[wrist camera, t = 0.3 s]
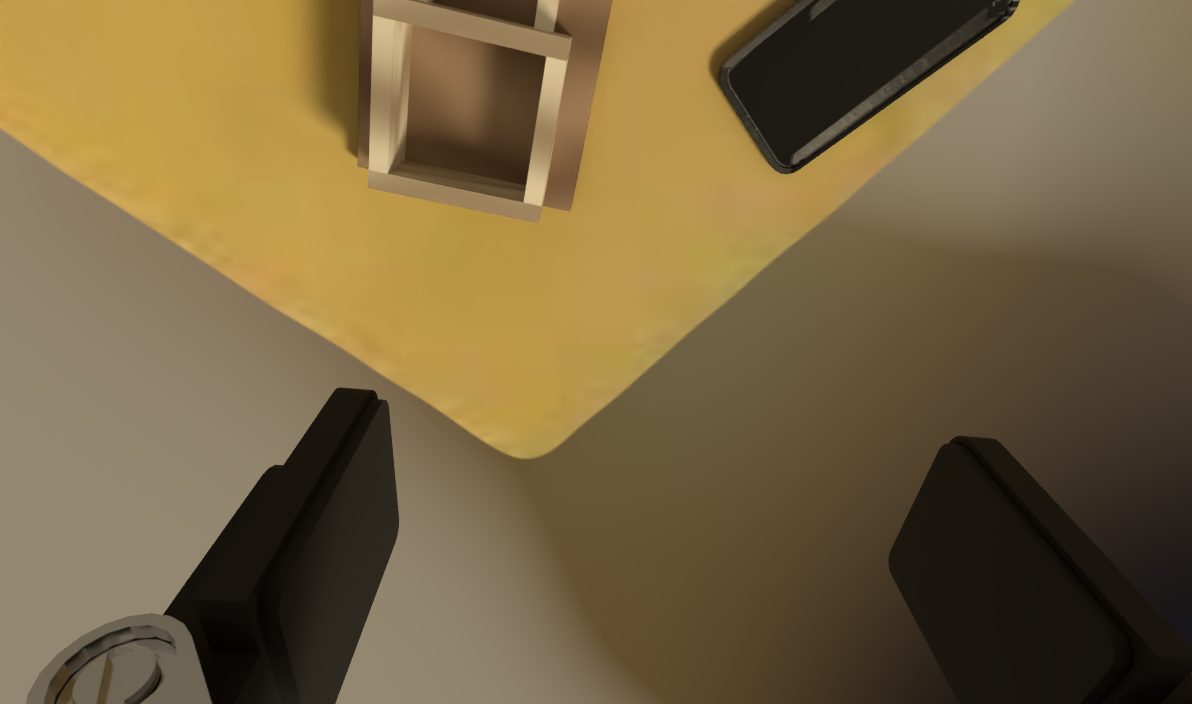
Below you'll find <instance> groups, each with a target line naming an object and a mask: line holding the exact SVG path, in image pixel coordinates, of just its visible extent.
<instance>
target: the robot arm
mask: <svg viewBox="0 0 1192 704" xmlns="http://www.w3.org/2000/svg"><path fill="white" fill-rule="evenodd" d="M397 504H398V503H397V492H396V481H395V470H394V459H393V448H392V437H391V426H390V415H389V406H388V403H387V401H386V400H379V399H378V397H377V394H376V392H375V391H374V390H364V389H352V388H337V389H336V390H335V391H334V392H333V393H332V395H331V396H330V398H329V399H328V401H327V402H326V404H325V405H324V407H323V408H322V409H321V411H320V412H319V414H318V415H317V417H316V418H315V420H314V421H313V423H312V424H311V426H310V427H309V429H308V430H307V431H306V433H305V434H304V436H303V438H302V439H301V440H300V442H299V443H298V445H297V446H296V448H295V449H294V451H293V452H292V454H291V455H290V457H289V458H288V459H287V461H286V462H285V464H284V465H274V466H272V467H270V468H269V469H268V470H267V471H266V472H265V473H264V474H263V475H262V476H261V478H260V479H259V481H258V482H257V484H256V485H255V486H254V488H253V489H252V491H251V492H250V493H249V495H248V496H247V498H246V499H245V500H244V502H243V503H242V505H241V506H240V508H239V509H238V510H237V512H236V513H235V514H234V516H233V517H232V519H231V520H230V521H229V523H228V524H227V526H226V527H225V529H224V530H223V531H222V533H221V534H220V536H219V537H218V538H217V540H216V541H215V543H214V544H213V545H212V547H211V548H210V549H209V551H208V552H207V554H206V555H205V556H204V558H203V559H202V561H201V562H200V564H199V565H198V566H197V568H196V569H195V571H194V572H193V573H192V575H191V576H190V578H189V579H188V580H187V582H186V583H185V585H184V586H183V587H182V589H181V590H180V592H179V593H178V594H177V596H176V597H175V599H174V600H173V601H172V603H171V604H170V606H169V607H168V609H167V610H166V611H165V613H164V614H163V615H159V614H152V613H151V614H143V615H134V616H128V617H125V618H122V619H119V620H116V621H113V622H110V623H107V624H104V625H102V626H100V627H99V628H97V629H95V630H93V631H91V632H89V633H87V634H85V635H83V636H81V637H80V638H78V639H77V640H76V641H74V642H73V643H72V644H70V645H69V646H68V647H66V648H65V649H64V650H62V651H61V652H60V653H58V654H57V655H56V657H55V658H54V659H53V660H52V661H51V662H50V663H49V664H48V665H47V666H46V667H45V668H44V669H43V671H42V672H41V673H40V674H39V676H38V678H37V679H36V681H35V683H34V684H33V686H32V688H31V690H30V691H29V693H28V696H27V702H26V704H335V703H336V700H337V697H338V695H339V692H340V689H341V687H342V684H343V681H344V679H345V676H346V673H347V671H348V668H349V665H350V663H351V660H352V657H353V654H354V652H355V649H356V646H357V644H358V641H359V638H360V636H361V633H362V630H363V627H364V625H365V622H366V620H367V617H368V614H369V611H370V609H371V606H372V603H373V601H374V598H375V596H376V593H377V590H378V587H379V584H380V582H381V579H382V577H383V574H384V571H385V569H386V566H387V563H388V561H389V558H390V555H391V553H392V550H393V547H394V545H395V542H396V539H397V534H398V528H399V514H398V505H397ZM889 568H890V572H891V575H892V577H893V579H894V581H895V582H896V584H897V586H898V588H899V590H900V592H901V594H902V596H903V598H904V600H905V602H906V603H907V605H908V607H909V609H910V611H911V613H912V615H913V617H914V619H915V621H916V622H917V624H918V626H919V628H920V630H921V632H922V633H923V636H924V638H925V639H926V642H927V643H928V645H929V647H930V649H931V651H932V653H933V655H934V657H935V658H936V661H937V662H938V664H939V666H940V668H941V670H942V672H943V674H944V676H945V678H946V680H947V682H948V683H949V685H950V687H951V689H952V691H953V693H954V695H955V697H956V699H957V700H958V702H959V704H1192V675H1191V674H1190V673H1191V672H1192V647H1191V646H1190V645H1189V644H1188V643H1187V642H1186V641H1185V640H1184V639H1183V638H1182V637H1181V636H1180V634H1179V633H1178V632H1177V631H1176V630H1175V629H1174V628H1173V627H1172V626H1171V625H1170V624H1169V623H1168V622H1167V621H1166V619H1165V618H1164V617H1163V616H1162V615H1161V614H1160V613H1159V612H1158V611H1157V610H1156V609H1155V608H1154V607H1153V606H1152V605H1151V603H1150V602H1149V601H1148V600H1147V599H1146V598H1145V597H1144V596H1143V595H1142V594H1141V593H1140V592H1139V591H1138V590H1137V588H1136V587H1135V586H1134V585H1133V584H1132V583H1131V582H1130V581H1129V580H1128V579H1127V578H1126V577H1125V576H1124V575H1123V574H1122V572H1121V571H1120V570H1119V569H1118V568H1117V567H1116V566H1115V565H1114V564H1113V563H1112V562H1111V561H1110V560H1109V559H1108V557H1107V556H1105V554H1104V553H1103V552H1102V551H1101V550H1100V549H1099V548H1098V547H1097V546H1096V545H1095V544H1094V543H1093V541H1092V540H1091V539H1090V538H1089V537H1088V536H1087V535H1086V534H1085V533H1084V532H1083V531H1082V530H1081V529H1080V528H1079V526H1078V525H1077V524H1076V523H1075V522H1074V521H1073V520H1072V519H1071V518H1070V517H1069V516H1068V515H1067V514H1066V513H1065V511H1064V510H1062V508H1061V507H1060V506H1059V505H1058V504H1057V503H1056V502H1055V501H1054V500H1053V499H1052V498H1051V497H1050V495H1049V494H1048V493H1047V492H1046V491H1045V490H1044V489H1043V488H1042V487H1041V486H1040V485H1039V484H1038V483H1037V482H1036V480H1035V479H1034V478H1033V477H1032V476H1031V475H1030V474H1029V473H1028V472H1027V471H1026V470H1025V469H1024V468H1023V467H1022V466H1021V464H1020V463H1019V462H1018V461H1017V460H1016V459H1015V458H1014V457H1013V456H1012V455H1011V454H1010V453H1009V452H1008V451H1007V450H1006V448H1005V447H1004V446H1003V445H1002V444H1001V443H1000V442H998V441H997V440H995V439H991V438H981V437H968V436H957V437H955V438H953V439H952V440H951V441H950V442H949V444H944V445H943V446H942V447H941V448H940V450H939V451H938V453H937V455H936V458H935V460H934V462H933V464H932V466H931V468H930V470H929V472H928V474H927V476H926V478H925V480H924V482H923V484H922V487H921V489H920V491H919V493H918V495H917V497H916V499H915V501H914V503H913V505H912V507H911V509H910V512H909V514H908V516H907V518H906V520H905V522H904V524H903V526H902V528H901V530H900V532H899V534H898V536H897V538H896V540H895V543H894V545H893V547H892V549H891V551H890V554H889Z"/></svg>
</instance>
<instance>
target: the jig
mask: <svg viewBox="0 0 1192 704" xmlns="http://www.w3.org/2000/svg"><path fill="white" fill-rule="evenodd" d="M611 5H612V0H361V11H360V65H359V119H358V167H362V168H367V169H369V178H368V188H371V189H376V190H381V191H386V192H390V193H395V194H400V195H405V196H410V197H414V198H419V199H424V200H429V201H434V202H439V203H443V204H448V205H453V206H458V207H463V208H467V209H472V210H477V211H482V212H487V213H492V214H496V215H501V216H506V217H511V218H516V219H520V220H525V221H530V222H535V223H538V222H539V219H540V215H541V211H542V207H543V206H547V207H552V208H556V209H561V210H566V211H571V207H572V202H573V197H574V192H575V187H576V182H577V177H578V172H579V167H580V162H581V157H582V152H583V146H584V141H585V136H586V131H587V126H588V121H589V116H590V111H591V106H592V101H593V96H594V91H595V86H596V81H597V76H598V71H599V66H600V61H601V56H602V51H603V45H604V40H605V35H606V30H607V25H608V20H609V15H610V10H611Z"/></svg>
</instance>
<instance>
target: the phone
mask: <svg viewBox="0 0 1192 704" xmlns="http://www.w3.org/2000/svg"><path fill="white" fill-rule="evenodd" d="M1019 2H1020V0H798V1H796V2H795V3H794V4H793V5H792V6H790V7H789V8H788V9H787V10H785V11H784V12H783V13H782V14H781V15H779V16H778V17H777V18H776V19H774V20H773V21H772V22H771V23H770V24H768V25H767V26H766V27H765V28H763V29H762V30H761V31H760V32H758V33H757V34H756V35H755V36H754V37H752V38H751V39H750V40H749V41H747V42H746V43H745V44H744V45H743V46H741V47H740V48H739V49H738V50H736V51H735V52H734V53H733V54H732V55H730V56H729V57H728V58H727V59H726V60H725V61H724V62H723V63H722V65H721V67H720V69H719V74H718V82H719V85H720V88H721V90H722V91H723V93H724V94H725V96H726V98H727V99H728V101H729V102H730V104H731V105H732V107H733V108H734V110H735V112H736V113H737V115H738V116H739V118H740V119H741V121H742V123H743V124H744V126H745V127H746V129H747V130H748V132H749V133H750V135H751V137H752V138H753V140H754V141H755V143H756V144H757V146H758V148H759V149H760V151H761V152H762V154H763V155H764V157H765V158H766V160H767V162H768V163H769V165H770V166H771V167H772V168H773V169H774V170H776V171H777V172H779V173H782V174H790V173H794V172H796V171H798V170H799V169H801V168H802V167H803V166H805V165H806V164H808V163H809V162H810V161H812V160H813V159H815V158H816V157H817V156H819V155H820V154H821V153H823V152H824V151H826V150H827V149H828V148H830V147H831V146H833V145H834V144H835V143H837V142H838V141H840V140H841V139H842V138H844V137H845V136H847V135H848V134H849V133H851V132H852V131H853V130H855V129H856V128H858V127H859V126H860V125H862V124H863V123H865V122H866V121H867V120H869V119H870V118H872V117H873V116H874V115H876V114H877V113H879V112H880V111H881V110H883V109H884V108H886V107H887V106H888V105H890V104H891V103H892V102H894V101H895V100H897V99H898V98H899V97H901V96H902V95H904V94H905V93H906V92H908V91H909V90H911V89H912V88H913V87H915V86H916V85H918V84H919V83H920V82H922V81H923V80H924V79H926V78H927V77H929V76H930V75H931V74H933V73H934V72H936V71H937V70H938V69H940V68H941V67H943V66H944V65H945V64H947V63H948V62H950V61H951V60H952V59H954V58H955V57H956V56H958V55H959V54H961V53H962V52H963V51H965V50H966V49H968V48H969V47H970V46H972V45H973V44H975V43H976V42H977V41H979V40H980V39H982V38H983V37H984V36H986V35H987V34H988V33H990V32H991V31H993V30H994V29H995V28H997V27H998V26H1000V25H1001V24H1002V23H1004V22H1005V21H1006V20H1007V19H1009V18H1010V17H1011V16H1012V15H1013V13H1014V12H1015V10H1016V9H1017V7H1018V4H1019Z"/></svg>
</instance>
